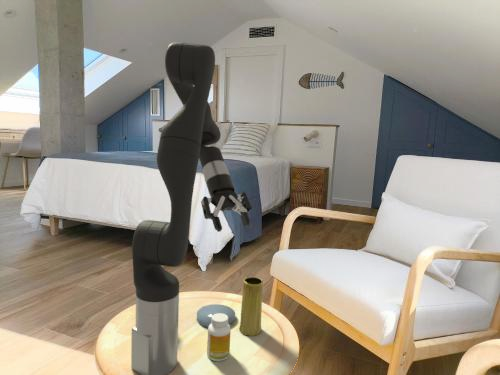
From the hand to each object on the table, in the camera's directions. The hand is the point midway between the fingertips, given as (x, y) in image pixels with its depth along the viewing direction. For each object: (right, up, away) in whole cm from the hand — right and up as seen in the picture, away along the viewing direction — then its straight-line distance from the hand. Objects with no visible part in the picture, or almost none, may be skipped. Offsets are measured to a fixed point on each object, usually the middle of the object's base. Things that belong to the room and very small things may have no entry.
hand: (233, 228), depth 99 cm
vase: (+5, -28, -3) cm, 28 cm away
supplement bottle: (-3, -29, -15) cm, 33 cm away
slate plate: (-5, -26, +2) cm, 27 cm away
